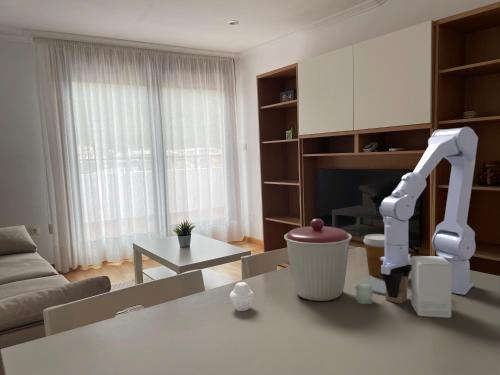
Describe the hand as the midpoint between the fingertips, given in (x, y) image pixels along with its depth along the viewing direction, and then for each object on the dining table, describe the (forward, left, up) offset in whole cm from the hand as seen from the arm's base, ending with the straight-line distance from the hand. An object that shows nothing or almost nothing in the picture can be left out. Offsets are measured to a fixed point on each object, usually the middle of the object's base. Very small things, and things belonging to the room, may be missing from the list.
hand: (396, 294), depth 98 cm
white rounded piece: (+29, -28, -2) cm, 40 cm away
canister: (+9, -18, -2) cm, 20 cm away
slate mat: (-5, -8, -1) cm, 9 cm away
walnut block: (0, 0, -1) cm, 1 cm away
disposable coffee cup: (-17, -12, -2) cm, 21 cm away
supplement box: (+2, +9, -2) cm, 9 cm away
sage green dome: (+6, -6, -2) cm, 9 cm away
